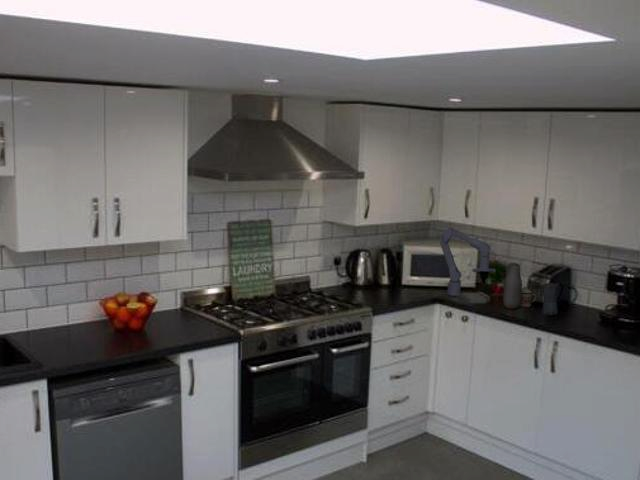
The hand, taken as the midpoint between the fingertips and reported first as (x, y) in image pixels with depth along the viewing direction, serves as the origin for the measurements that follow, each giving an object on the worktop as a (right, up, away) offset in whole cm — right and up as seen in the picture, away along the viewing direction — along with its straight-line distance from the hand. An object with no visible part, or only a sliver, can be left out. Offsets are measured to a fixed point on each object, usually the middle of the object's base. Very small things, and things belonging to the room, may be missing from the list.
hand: (483, 283), depth 431 cm
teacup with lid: (+22, -13, -18) cm, 31 cm away
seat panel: (-8, -10, -7) cm, 14 cm away
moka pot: (+31, -16, -37) cm, 50 cm away
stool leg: (-1, -10, -4) cm, 10 cm away
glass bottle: (+10, -14, -27) cm, 32 cm away
